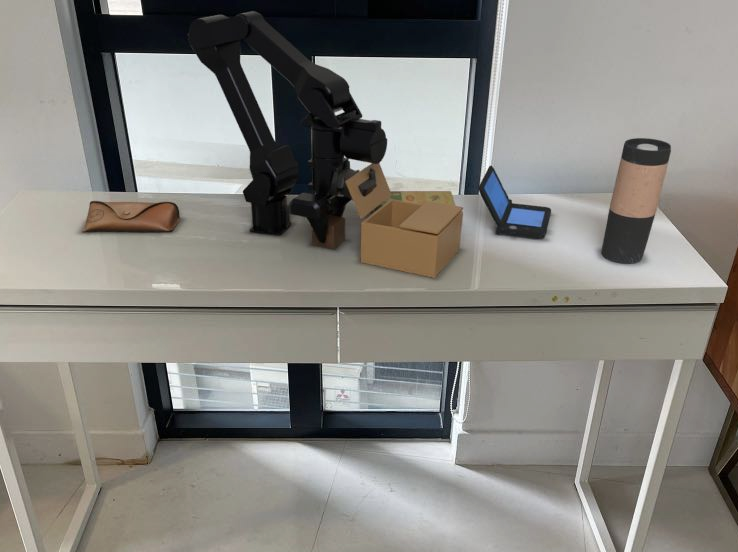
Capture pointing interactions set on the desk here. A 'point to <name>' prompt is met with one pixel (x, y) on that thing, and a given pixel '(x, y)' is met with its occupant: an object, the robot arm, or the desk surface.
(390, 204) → the kraft box
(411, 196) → the carton
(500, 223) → the game console
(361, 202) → the flap
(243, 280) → the desk surface
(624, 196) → the travel mug
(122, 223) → the sunglasses case
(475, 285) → the desk surface
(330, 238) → the walnut block
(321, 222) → the robot arm
